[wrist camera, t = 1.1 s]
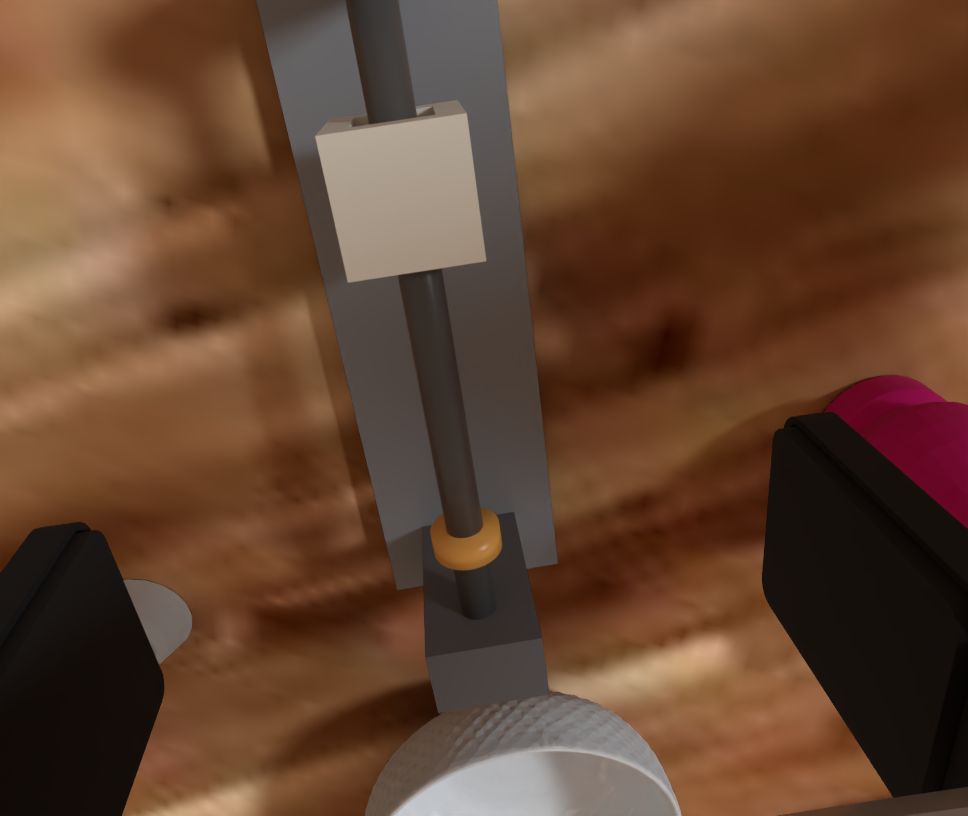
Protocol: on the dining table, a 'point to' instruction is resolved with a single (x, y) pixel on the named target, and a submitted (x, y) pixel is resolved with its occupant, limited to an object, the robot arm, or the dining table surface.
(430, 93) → the linear slide rail
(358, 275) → the sleeve
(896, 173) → the dining table surface
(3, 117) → the dining table surface
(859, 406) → the pepper mill
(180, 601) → the chalice
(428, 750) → the cereal bowl
